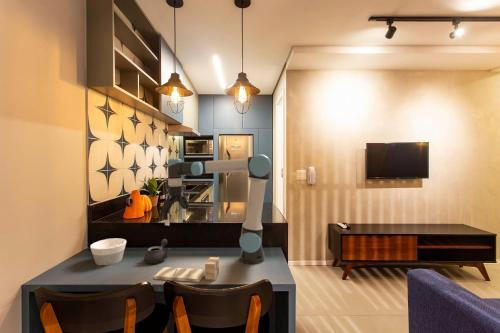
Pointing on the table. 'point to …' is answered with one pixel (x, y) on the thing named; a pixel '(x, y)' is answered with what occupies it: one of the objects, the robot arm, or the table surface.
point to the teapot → (156, 253)
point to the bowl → (108, 251)
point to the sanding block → (212, 268)
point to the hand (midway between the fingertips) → (176, 222)
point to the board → (180, 274)
